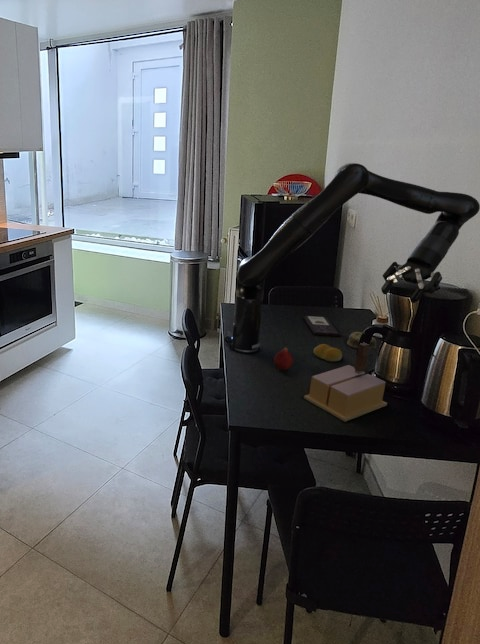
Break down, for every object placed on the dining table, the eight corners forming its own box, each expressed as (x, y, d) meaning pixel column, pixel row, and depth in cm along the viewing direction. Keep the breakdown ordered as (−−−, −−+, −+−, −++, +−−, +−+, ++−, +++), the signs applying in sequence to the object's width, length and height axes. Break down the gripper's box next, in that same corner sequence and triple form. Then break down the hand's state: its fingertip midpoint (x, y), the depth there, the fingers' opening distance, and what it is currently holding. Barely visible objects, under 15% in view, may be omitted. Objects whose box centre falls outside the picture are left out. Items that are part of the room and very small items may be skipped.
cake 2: (362, 353, 172) (364, 340, 170) (340, 343, 181) (341, 330, 179) (383, 347, 176) (384, 333, 174) (360, 337, 184) (361, 324, 183)
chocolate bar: (315, 332, 186) (304, 316, 203) (314, 334, 187) (304, 318, 204) (339, 333, 185) (326, 317, 202) (339, 336, 186) (326, 319, 203)
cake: (344, 421, 129) (349, 397, 127) (303, 398, 141) (306, 375, 139) (387, 405, 138) (391, 382, 135) (344, 384, 149) (348, 362, 147)
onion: (282, 376, 154) (285, 353, 152) (269, 368, 159) (271, 346, 157) (295, 372, 157) (298, 349, 154) (282, 365, 162) (285, 343, 159)
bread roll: (335, 364, 162) (336, 353, 161) (310, 355, 169) (311, 345, 168) (346, 357, 167) (348, 347, 166) (321, 349, 174) (323, 339, 173)
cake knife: (354, 398, 140) (363, 346, 135) (349, 395, 141) (357, 343, 136) (361, 395, 141) (370, 344, 136) (356, 393, 143) (364, 341, 138)
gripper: (401, 241, 144) (370, 282, 142) (451, 250, 132) (418, 296, 130) (408, 256, 148) (378, 297, 146) (458, 267, 136) (426, 311, 134)
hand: (397, 296), depth 138 cm, fingers open, 8 cm apart
